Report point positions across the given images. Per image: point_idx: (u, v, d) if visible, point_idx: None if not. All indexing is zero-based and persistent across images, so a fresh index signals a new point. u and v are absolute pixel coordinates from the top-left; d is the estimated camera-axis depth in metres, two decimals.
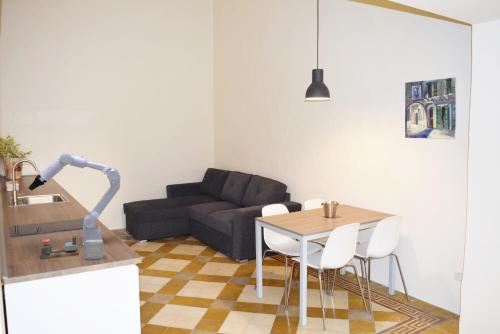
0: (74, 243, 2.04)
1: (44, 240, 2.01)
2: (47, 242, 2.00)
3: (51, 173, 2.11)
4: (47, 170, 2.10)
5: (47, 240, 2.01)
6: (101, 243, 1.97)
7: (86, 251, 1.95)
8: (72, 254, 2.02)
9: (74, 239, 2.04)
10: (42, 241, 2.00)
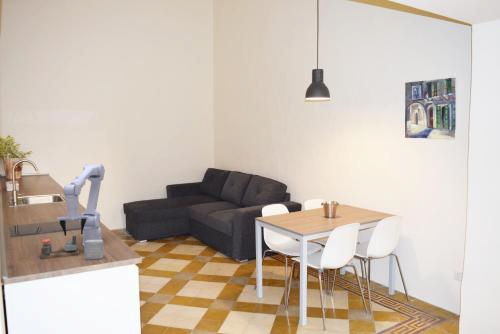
0: (74, 243, 2.04)
1: (44, 240, 2.01)
2: (47, 242, 2.00)
3: None
4: (77, 210, 2.04)
5: (47, 240, 2.01)
6: (101, 243, 1.97)
7: (86, 251, 1.95)
8: (72, 254, 2.02)
9: (74, 239, 2.04)
10: (42, 241, 2.00)
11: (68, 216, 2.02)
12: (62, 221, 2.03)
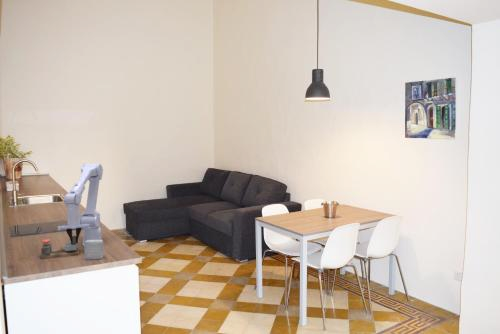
0: (74, 243, 2.04)
1: (44, 240, 2.01)
2: (47, 242, 2.00)
3: None
4: (78, 219, 2.05)
5: (47, 240, 2.01)
6: (101, 243, 1.97)
7: (86, 251, 1.95)
8: (72, 254, 2.02)
9: (74, 239, 2.04)
10: (42, 241, 2.00)
11: (69, 225, 2.03)
12: None
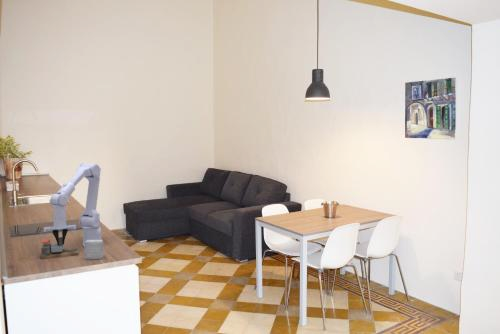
0: (60, 244, 2.02)
1: (44, 240, 2.01)
2: (47, 242, 2.00)
3: None
4: (64, 220, 2.02)
5: (47, 240, 2.01)
6: (101, 243, 1.97)
7: (86, 251, 1.95)
8: (72, 254, 2.02)
9: (60, 240, 2.02)
10: (42, 241, 2.00)
11: (55, 226, 2.01)
12: None
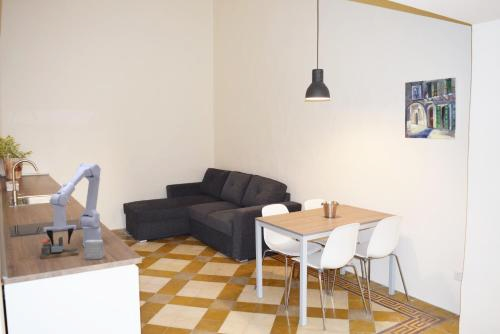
0: (60, 244, 2.02)
1: (44, 240, 2.01)
2: (47, 242, 2.00)
3: None
4: (64, 220, 2.02)
5: (47, 240, 2.01)
6: (101, 243, 1.97)
7: (86, 251, 1.95)
8: (72, 254, 2.02)
9: (60, 240, 2.02)
10: (42, 241, 2.00)
11: (55, 226, 2.01)
12: (49, 231, 2.01)
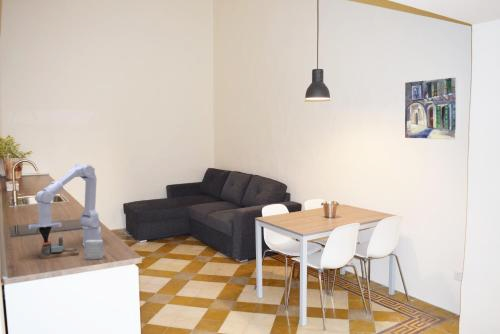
0: (60, 244, 2.02)
1: None
2: (47, 244, 2.00)
3: None
4: (50, 217, 2.00)
5: (47, 242, 2.01)
6: (101, 243, 1.97)
7: (86, 251, 1.95)
8: (72, 254, 2.02)
9: (60, 240, 2.02)
10: (42, 243, 2.00)
11: (40, 223, 1.98)
12: (34, 228, 1.98)
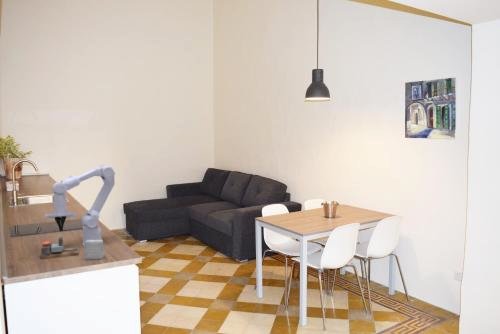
0: (60, 244, 2.02)
1: (44, 242, 2.01)
2: (47, 244, 2.00)
3: None
4: (65, 207, 2.12)
5: (47, 242, 2.01)
6: (101, 243, 1.97)
7: (86, 251, 1.95)
8: (72, 254, 2.02)
9: (60, 240, 2.02)
10: (42, 243, 2.00)
11: (55, 213, 2.10)
12: None
